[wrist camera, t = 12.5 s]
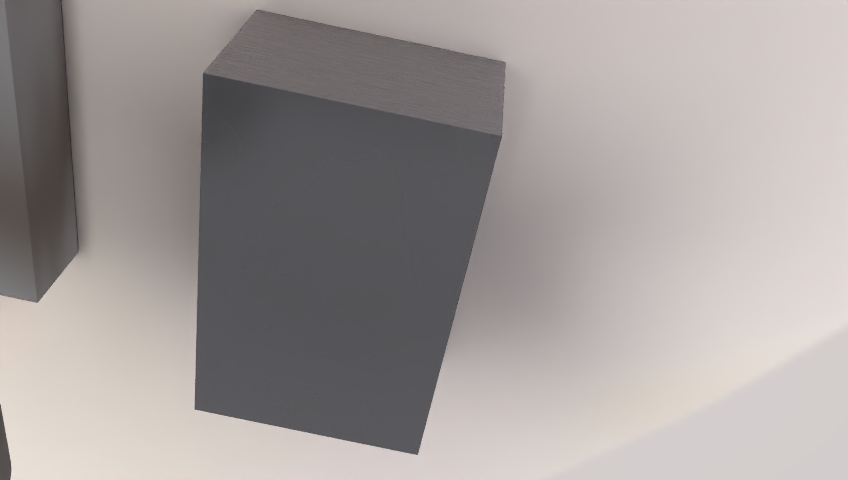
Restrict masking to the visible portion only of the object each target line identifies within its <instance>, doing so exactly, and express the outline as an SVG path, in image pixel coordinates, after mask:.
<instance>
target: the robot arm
mask: <svg viewBox="0 0 848 480" xmlns="http://www.w3.org/2000/svg"><path fill="white" fill-rule="evenodd" d="M10 477H11V461H10V455H9V450H8V444H7V438H6V433H5V427H4V422H3V416H2V410H1V405H0V480H10Z"/></svg>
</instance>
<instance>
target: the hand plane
mask: <svg viewBox="0 0 848 480" xmlns="http://www.w3.org/2000/svg"><path fill="white" fill-rule="evenodd" d="M77 253H78V242H77V228H76V213H75V199H74V185H73V170H72V156H71V141H70V127H69V112H68V98H67V83H66V69H65V55H64V40H63V26H62V11H61V0H0V295H3V296H8V297H13V298H17V299H22V300H27V301H32V302H36V303H38V302H39V300H40V299H41V298H42V297H43V295H44V294H45V293H46V292H47V290H48V289H49V288H50V287H51V285H52V284H53V283H54V282H55V280H56V279H57V278H58V277H59V275H60V274H61V273H62V272H63V270H64V269H65V268H66V267H67V265H68V264H69V263H70V262H71V260H72V259H73V258H74V257H75V255H76V254H77Z"/></svg>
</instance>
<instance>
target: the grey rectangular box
mask: <svg viewBox="0 0 848 480" xmlns="http://www.w3.org/2000/svg"><path fill="white" fill-rule="evenodd" d="M504 80H505V62H502V61H497V60H492V59H487V58H483V57H478V56H473V55H468V54H464V53H459V52H454V51H450V50H445V49H440V48H435V47H431V46H426V45H421V44H416V43H412V42H407V41H402V40H398V39H393V38H388V37H383V36H379V35H374V34H369V33H364V32H360V31H355V30H350V29H346V28H341V27H336V26H331V25H327V24H322V23H317V22H313V21H308V20H303V19H298V18H294V17H289V16H284V15H279V14H275V13H270V12H265V11H261V10H257V11H256V12H255V13H254V14H253V15H252V17H251V18H250V19H249V20H248V21H247V22H246V24H245V25H244V26H243V27H242V28H241V29H240V31H239V32H238V33H237V34H236V35H235V36H234V38H233V39H232V40H231V41H230V42H229V44H228V45H227V46H226V47H225V48H224V49H223V51H222V52H221V53H220V54H219V55H218V56H217V58H216V59H215V60H214V61H213V62H212V63H211V65H210V66H209V67H208V68H207V69H206V70H205V72H204V73H203V103H202V142H201V182H200V221H199V261H198V300H197V339H196V379H195V410H200V411H205V412H210V413H215V414H220V415H225V416H229V417H234V418H239V419H244V420H249V421H254V422H259V423H264V424H269V425H274V426H278V427H283V428H288V429H293V430H298V431H303V432H308V433H313V434H318V435H323V436H327V437H332V438H337V439H342V440H347V441H352V442H357V443H362V444H367V445H371V446H376V447H381V448H386V449H391V450H396V451H401V452H406V453H411V454H416V455H418V452H419V448H420V444H421V440H422V436H423V433H424V429H425V425H426V421H427V417H428V414H429V410H430V406H431V402H432V399H433V395H434V391H435V387H436V383H437V380H438V376H439V372H440V368H441V364H442V361H443V357H444V353H445V349H446V345H447V342H448V338H449V334H450V330H451V326H452V323H453V319H454V315H455V311H456V307H457V304H458V300H459V296H460V292H461V288H462V285H463V281H464V277H465V273H466V269H467V266H468V262H469V258H470V254H471V251H472V247H473V243H474V239H475V235H476V232H477V228H478V224H479V220H480V216H481V213H482V209H483V205H484V201H485V197H486V194H487V190H488V186H489V182H490V178H491V175H492V171H493V167H494V163H495V159H496V156H497V152H498V148H499V144H500V140H501V137H502V120H503V100H504Z"/></svg>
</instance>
